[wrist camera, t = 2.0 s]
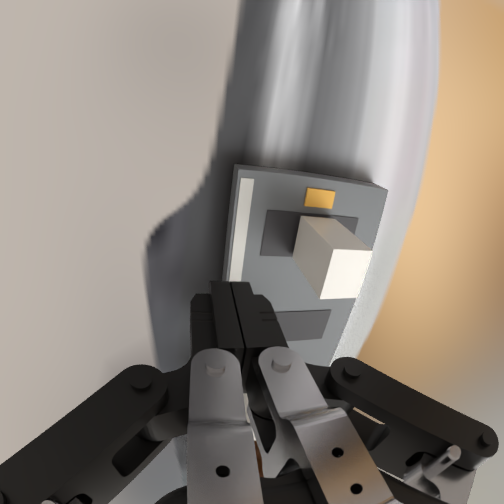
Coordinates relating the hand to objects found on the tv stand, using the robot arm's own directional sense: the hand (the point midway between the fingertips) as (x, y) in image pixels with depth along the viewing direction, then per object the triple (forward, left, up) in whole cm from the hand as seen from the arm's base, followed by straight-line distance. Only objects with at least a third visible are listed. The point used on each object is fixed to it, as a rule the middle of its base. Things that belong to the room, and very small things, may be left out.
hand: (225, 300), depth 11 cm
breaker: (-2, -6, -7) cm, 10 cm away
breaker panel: (-10, -4, -10) cm, 14 cm away
